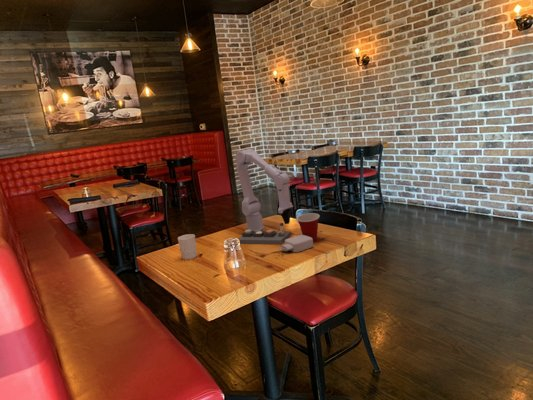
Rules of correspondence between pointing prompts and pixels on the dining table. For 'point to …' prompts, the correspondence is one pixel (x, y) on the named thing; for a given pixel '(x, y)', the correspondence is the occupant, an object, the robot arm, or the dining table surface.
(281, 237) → the control panel
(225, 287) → the dining table surface
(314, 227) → the plastic cup
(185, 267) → the dining table surface
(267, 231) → the button terracotta
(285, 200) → the robot arm
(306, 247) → the white bottle
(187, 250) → the white cup
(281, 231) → the toggle lever
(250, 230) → the button sage
